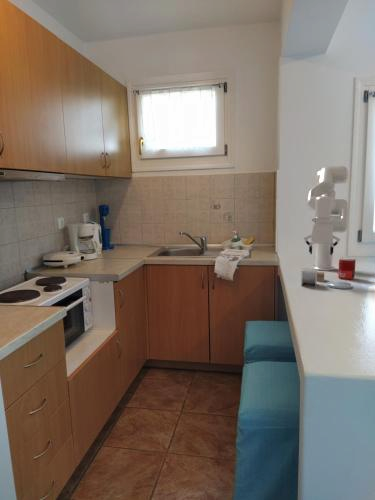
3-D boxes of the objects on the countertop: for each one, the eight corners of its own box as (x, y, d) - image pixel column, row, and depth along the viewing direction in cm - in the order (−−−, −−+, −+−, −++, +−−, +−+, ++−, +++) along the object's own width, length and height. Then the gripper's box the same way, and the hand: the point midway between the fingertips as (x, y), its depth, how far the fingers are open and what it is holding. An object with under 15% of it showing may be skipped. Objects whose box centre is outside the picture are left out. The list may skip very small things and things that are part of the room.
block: (315, 279, 193) (316, 272, 193) (323, 279, 192) (324, 272, 192) (315, 281, 190) (316, 273, 189) (323, 281, 188) (324, 274, 188)
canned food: (355, 280, 190) (357, 259, 188) (339, 279, 192) (340, 259, 190) (352, 277, 197) (353, 257, 196) (336, 276, 199) (337, 256, 197)
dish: (324, 283, 184) (324, 281, 184) (346, 283, 184) (346, 281, 183) (330, 288, 174) (330, 286, 173) (354, 289, 173) (354, 286, 172)
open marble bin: (301, 282, 186) (302, 268, 185) (316, 283, 184) (316, 268, 183) (301, 285, 180) (301, 270, 179) (316, 287, 177) (316, 271, 176)
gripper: (304, 221, 186) (303, 254, 188) (341, 222, 180) (339, 256, 182) (305, 220, 193) (303, 252, 195) (340, 221, 187) (338, 253, 189)
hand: (320, 254), depth 189 cm, fingers open, 9 cm apart
